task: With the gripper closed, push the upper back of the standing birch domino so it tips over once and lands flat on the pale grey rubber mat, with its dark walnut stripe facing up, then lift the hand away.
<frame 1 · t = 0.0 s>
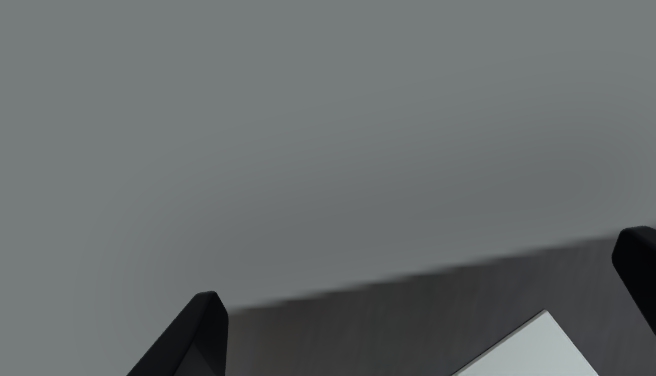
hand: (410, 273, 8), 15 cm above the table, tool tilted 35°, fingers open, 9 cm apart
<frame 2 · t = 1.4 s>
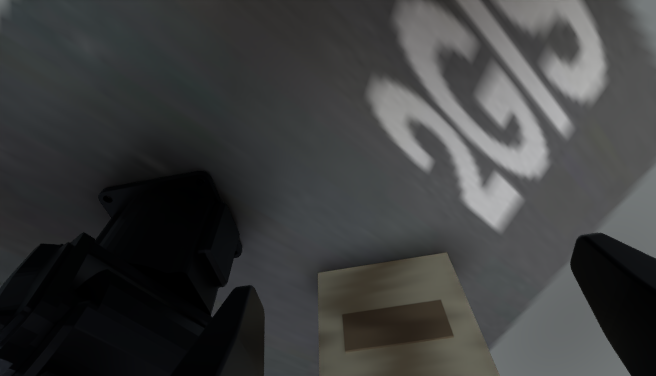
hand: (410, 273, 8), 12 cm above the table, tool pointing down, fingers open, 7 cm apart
birch domino: (383, 276, 26), on the table
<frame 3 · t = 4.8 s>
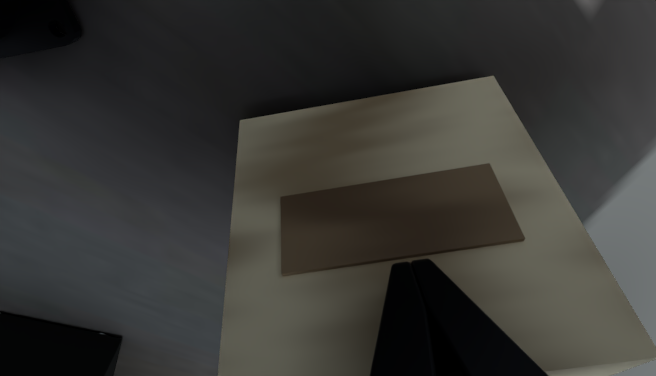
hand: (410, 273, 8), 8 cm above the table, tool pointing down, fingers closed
birch domino: (366, 129, 14), on the table, tilted 19°
tissue box: (51, 354, 23), on the table
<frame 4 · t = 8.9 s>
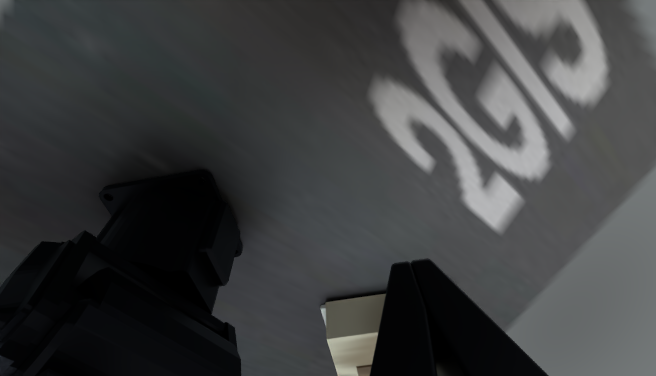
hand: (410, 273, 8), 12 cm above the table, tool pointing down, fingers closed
birch domino: (389, 310, 25), point 2 cm above the table, tilted 90°, touching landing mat
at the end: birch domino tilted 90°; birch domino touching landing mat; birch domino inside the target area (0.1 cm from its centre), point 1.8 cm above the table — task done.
